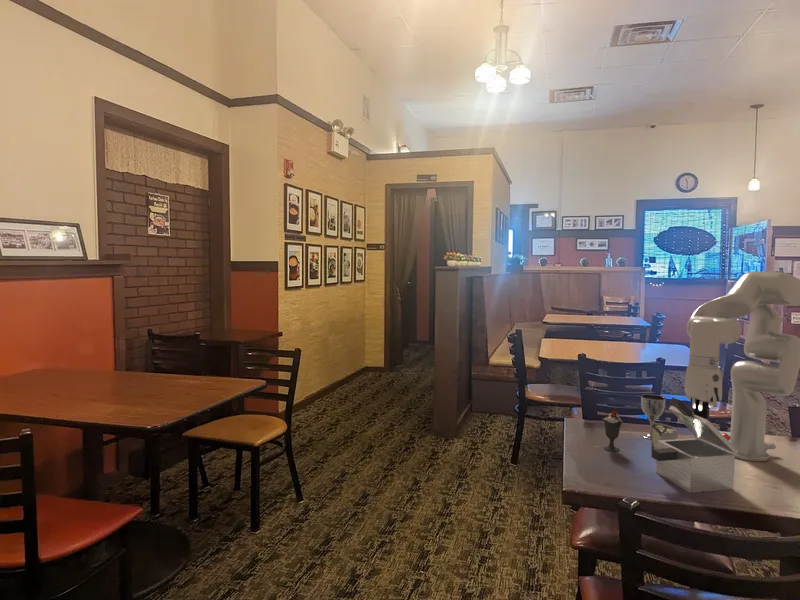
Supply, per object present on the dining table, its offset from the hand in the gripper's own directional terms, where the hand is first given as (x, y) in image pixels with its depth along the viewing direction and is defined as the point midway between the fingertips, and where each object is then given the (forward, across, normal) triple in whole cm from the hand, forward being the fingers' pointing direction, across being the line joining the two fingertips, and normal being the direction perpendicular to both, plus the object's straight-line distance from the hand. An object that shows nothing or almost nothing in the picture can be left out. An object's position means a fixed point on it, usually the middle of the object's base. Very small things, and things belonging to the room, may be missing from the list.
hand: (699, 422), depth 154 cm
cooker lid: (0, -2, +3) cm, 4 cm away
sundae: (+17, +25, +12) cm, 33 cm away
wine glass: (+17, +34, -10) cm, 40 cm away
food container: (+17, +15, -1) cm, 23 cm away
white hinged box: (+17, -2, +6) cm, 18 cm away
